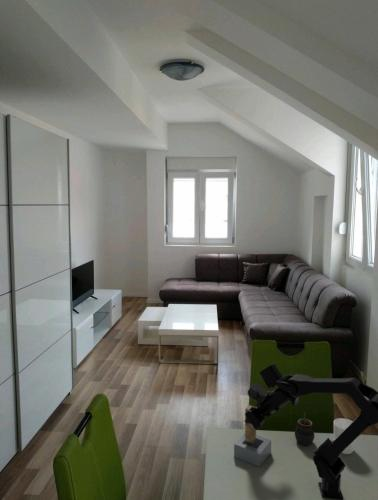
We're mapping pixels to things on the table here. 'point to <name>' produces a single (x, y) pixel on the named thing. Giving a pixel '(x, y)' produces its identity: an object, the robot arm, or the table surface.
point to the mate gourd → (304, 431)
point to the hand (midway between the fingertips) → (247, 419)
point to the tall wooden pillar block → (249, 429)
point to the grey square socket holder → (253, 450)
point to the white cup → (339, 427)
